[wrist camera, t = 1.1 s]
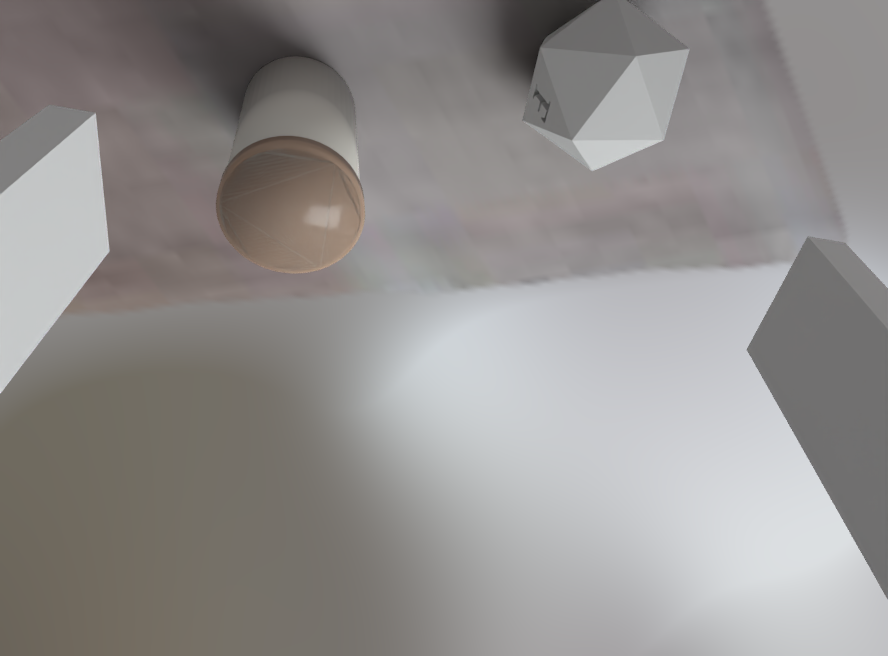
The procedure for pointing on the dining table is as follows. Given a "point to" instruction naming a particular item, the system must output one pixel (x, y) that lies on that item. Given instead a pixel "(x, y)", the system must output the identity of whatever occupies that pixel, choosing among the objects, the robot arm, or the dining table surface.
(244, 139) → the jar
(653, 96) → the die
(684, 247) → the dining table surface
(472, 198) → the dining table surface
